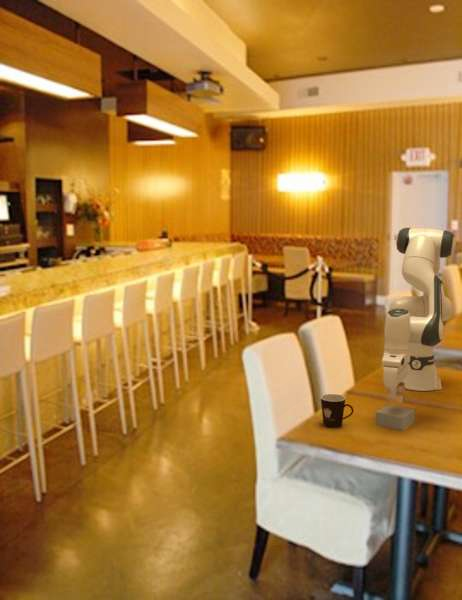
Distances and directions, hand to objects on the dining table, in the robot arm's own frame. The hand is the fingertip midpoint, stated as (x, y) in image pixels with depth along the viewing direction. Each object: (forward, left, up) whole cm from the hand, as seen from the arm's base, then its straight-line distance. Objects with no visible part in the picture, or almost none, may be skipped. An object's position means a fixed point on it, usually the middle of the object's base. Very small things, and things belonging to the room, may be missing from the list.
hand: (395, 394), depth 211 cm
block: (0, 0, -11) cm, 11 cm away
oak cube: (0, 0, -2) cm, 2 cm away
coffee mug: (+12, -18, -11) cm, 24 cm away
